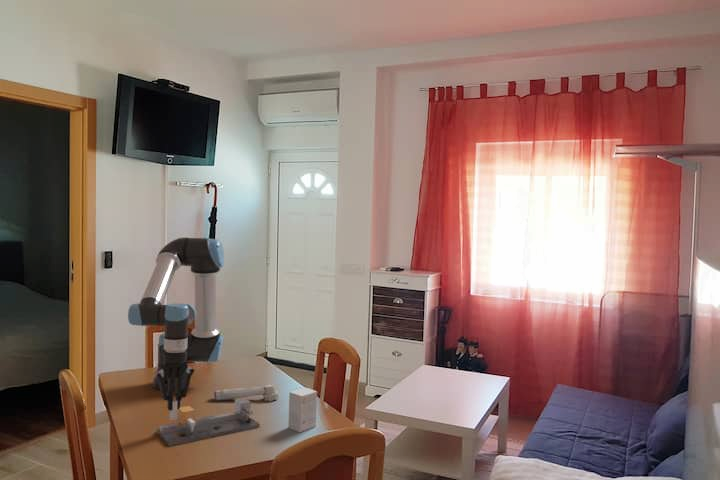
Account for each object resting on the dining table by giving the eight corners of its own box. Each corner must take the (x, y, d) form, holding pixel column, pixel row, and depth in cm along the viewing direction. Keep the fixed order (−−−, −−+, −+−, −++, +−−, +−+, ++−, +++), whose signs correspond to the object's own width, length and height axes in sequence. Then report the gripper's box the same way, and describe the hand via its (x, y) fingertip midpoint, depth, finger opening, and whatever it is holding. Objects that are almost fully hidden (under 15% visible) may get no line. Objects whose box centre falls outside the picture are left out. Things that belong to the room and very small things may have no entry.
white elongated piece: (215, 388, 226) (277, 380, 229) (216, 404, 226) (278, 396, 230) (213, 392, 220) (277, 384, 224) (215, 409, 221) (278, 400, 225)
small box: (303, 421, 204) (305, 386, 204) (316, 426, 200) (317, 391, 200) (287, 427, 198) (289, 391, 198) (299, 432, 194) (301, 396, 194)
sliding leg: (177, 424, 192) (178, 407, 192) (188, 422, 195) (189, 405, 194) (187, 433, 185) (187, 416, 184) (198, 431, 187) (199, 414, 187)
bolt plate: (156, 432, 188) (156, 412, 188) (243, 415, 208) (244, 397, 207) (168, 446, 178) (169, 425, 178) (259, 427, 197) (260, 408, 197)
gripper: (159, 354, 181) (157, 426, 182) (198, 350, 188) (196, 419, 190) (152, 349, 187) (150, 418, 188) (190, 345, 194) (188, 412, 196)
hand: (173, 418), depth 189 cm, fingers closed
